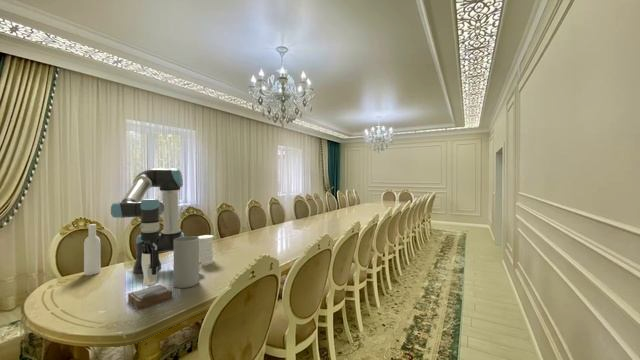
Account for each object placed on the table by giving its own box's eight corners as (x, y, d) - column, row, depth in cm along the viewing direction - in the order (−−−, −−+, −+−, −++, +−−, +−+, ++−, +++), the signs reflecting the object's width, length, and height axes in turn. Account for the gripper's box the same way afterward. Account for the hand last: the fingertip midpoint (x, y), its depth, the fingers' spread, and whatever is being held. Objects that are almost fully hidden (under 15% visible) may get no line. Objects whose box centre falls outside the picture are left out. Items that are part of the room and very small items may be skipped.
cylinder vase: (181, 279, 155) (181, 236, 155) (203, 279, 155) (202, 236, 155) (168, 288, 143) (168, 241, 142) (192, 288, 142) (191, 241, 142)
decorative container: (199, 260, 191) (199, 235, 191) (216, 259, 193) (216, 234, 193) (193, 265, 180) (193, 238, 180) (211, 265, 181) (211, 238, 181)
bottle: (104, 271, 169) (103, 223, 169) (91, 275, 161) (91, 225, 161) (93, 270, 170) (93, 223, 170) (80, 275, 163) (80, 225, 163)
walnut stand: (128, 301, 128) (128, 292, 128) (160, 291, 139) (160, 283, 139) (139, 309, 119) (139, 300, 119) (172, 298, 130) (172, 290, 130)
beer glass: (146, 280, 132) (146, 250, 132) (161, 280, 133) (161, 250, 133) (138, 286, 125) (138, 254, 125) (154, 286, 126) (153, 253, 126)
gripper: (133, 230, 132) (134, 277, 132) (149, 235, 120) (149, 286, 120) (150, 227, 138) (151, 273, 138) (167, 232, 126) (167, 281, 126)
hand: (150, 279), depth 129 cm, fingers closed on beer glass, 6 cm apart
